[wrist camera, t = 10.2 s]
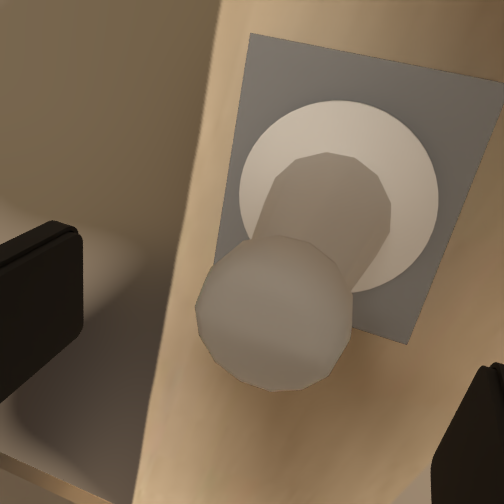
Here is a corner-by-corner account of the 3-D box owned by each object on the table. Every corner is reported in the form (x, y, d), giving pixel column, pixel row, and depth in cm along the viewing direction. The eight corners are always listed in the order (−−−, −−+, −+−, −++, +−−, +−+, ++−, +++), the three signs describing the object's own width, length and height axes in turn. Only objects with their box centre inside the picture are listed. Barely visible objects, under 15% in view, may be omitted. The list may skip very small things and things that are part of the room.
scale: (267, 36, 25) (245, 31, 21) (499, 82, 22) (515, 84, 19) (227, 267, 31) (204, 292, 27) (405, 324, 28) (404, 358, 25)
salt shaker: (293, 262, 25) (195, 431, 13) (264, 161, 23) (125, 253, 12) (403, 244, 23) (399, 428, 11) (380, 130, 21) (348, 209, 10)
